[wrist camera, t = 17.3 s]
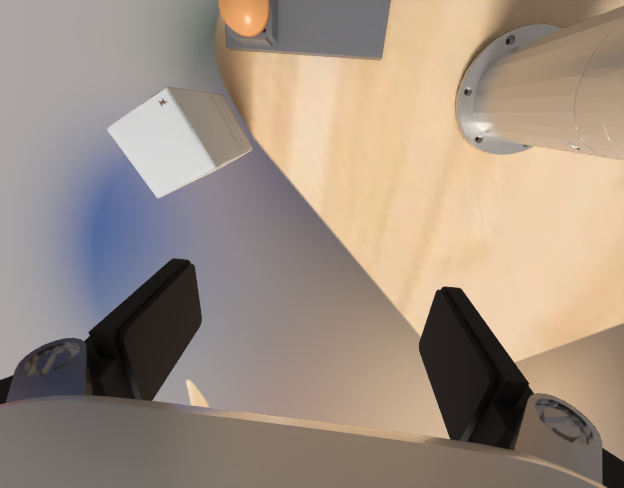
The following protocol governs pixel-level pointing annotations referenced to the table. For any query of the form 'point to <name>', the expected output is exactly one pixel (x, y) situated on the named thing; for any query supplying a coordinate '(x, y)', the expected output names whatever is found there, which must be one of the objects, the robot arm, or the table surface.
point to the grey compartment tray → (320, 29)
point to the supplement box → (179, 137)
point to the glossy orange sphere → (245, 15)
